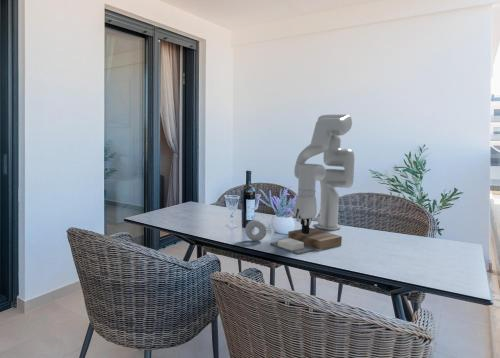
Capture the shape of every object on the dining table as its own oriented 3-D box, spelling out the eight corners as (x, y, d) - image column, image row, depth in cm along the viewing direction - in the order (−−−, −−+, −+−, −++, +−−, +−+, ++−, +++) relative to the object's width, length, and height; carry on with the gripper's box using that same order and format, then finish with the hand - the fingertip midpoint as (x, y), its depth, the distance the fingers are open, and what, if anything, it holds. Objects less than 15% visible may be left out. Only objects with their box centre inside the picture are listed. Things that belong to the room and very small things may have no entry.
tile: (289, 237, 169) (289, 243, 170) (277, 240, 165) (277, 245, 165) (303, 242, 162) (303, 247, 163) (292, 245, 158) (292, 250, 158)
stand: (288, 239, 177) (288, 231, 177) (309, 235, 186) (309, 227, 185) (320, 250, 161) (320, 241, 161) (341, 245, 170) (341, 236, 169)
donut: (244, 241, 174) (244, 220, 173) (245, 239, 177) (246, 218, 176) (265, 242, 172) (266, 221, 171) (266, 240, 175) (267, 219, 174)
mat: (270, 244, 169) (270, 243, 169) (288, 240, 176) (288, 239, 176) (298, 254, 155) (298, 253, 155) (316, 250, 162) (316, 248, 162)
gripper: (312, 190, 175) (310, 229, 177) (288, 193, 166) (287, 234, 168) (324, 192, 169) (322, 232, 171) (300, 195, 160) (299, 237, 162)
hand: (305, 233), depth 169 cm, fingers closed
